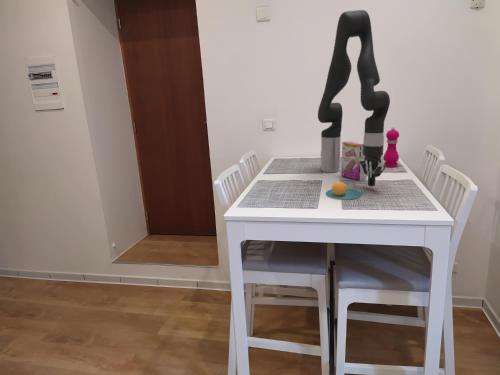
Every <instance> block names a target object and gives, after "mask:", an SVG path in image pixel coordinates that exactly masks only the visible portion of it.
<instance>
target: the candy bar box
mask: <svg viewBox="0 0 500 375" xmlns="http://www.w3.org/2000/svg"><path fill="white" fill-rule="evenodd" d="M341 144H342V146H341V148H342V149H341V177H345V178H348V179H352V180H355V181H359V182H361V181H364V180H367V179H368V176H367V174H365V173H364V171H363V168H362V165H361V163H360V162H361V161H364V158H365V156H364V155H363V142H359V141H352V140H346V141H342V143H341Z"/></svg>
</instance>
